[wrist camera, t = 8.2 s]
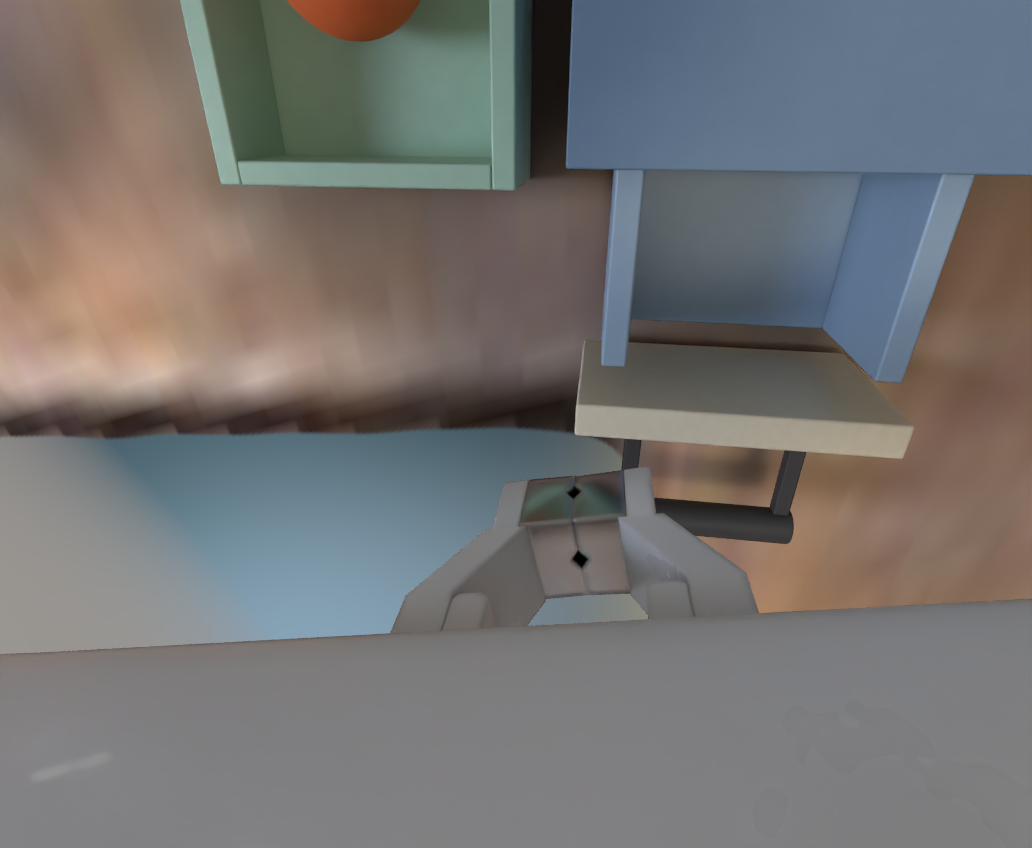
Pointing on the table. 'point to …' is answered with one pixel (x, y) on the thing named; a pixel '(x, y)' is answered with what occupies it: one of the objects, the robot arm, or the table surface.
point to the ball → (356, 16)
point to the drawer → (764, 318)
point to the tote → (366, 96)
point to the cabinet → (802, 86)
